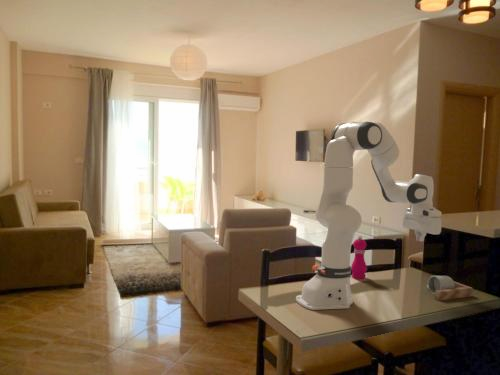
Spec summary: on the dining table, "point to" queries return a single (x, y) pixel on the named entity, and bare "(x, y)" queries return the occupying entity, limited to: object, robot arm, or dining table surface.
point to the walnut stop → (454, 292)
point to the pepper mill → (359, 259)
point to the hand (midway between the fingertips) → (419, 240)
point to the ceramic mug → (440, 283)
